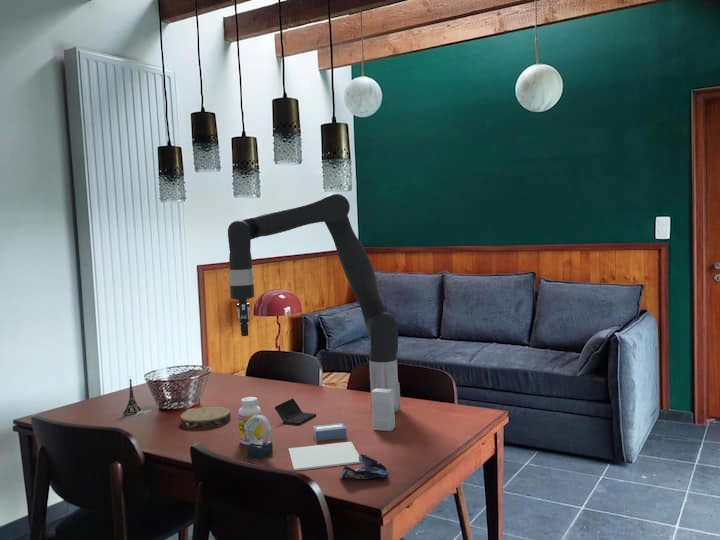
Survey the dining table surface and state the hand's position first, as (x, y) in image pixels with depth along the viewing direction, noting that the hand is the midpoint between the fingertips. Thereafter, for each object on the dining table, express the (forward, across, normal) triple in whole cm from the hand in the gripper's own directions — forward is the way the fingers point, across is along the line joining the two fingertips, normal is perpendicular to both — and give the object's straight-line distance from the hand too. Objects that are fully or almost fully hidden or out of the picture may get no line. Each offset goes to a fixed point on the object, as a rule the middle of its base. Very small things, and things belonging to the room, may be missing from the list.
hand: (244, 334), depth 205 cm
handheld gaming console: (+30, 0, -15) cm, 33 cm away
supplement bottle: (+30, -18, 0) cm, 35 cm away
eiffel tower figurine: (+30, +28, +40) cm, 57 cm away
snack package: (+30, -54, -27) cm, 67 cm away
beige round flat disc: (+30, +8, +14) cm, 34 cm away
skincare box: (+30, -19, -40) cm, 53 cm away
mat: (+29, -37, -19) cm, 51 cm away
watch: (+30, -30, -2) cm, 42 cm away
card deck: (+30, -21, -23) cm, 43 cm away
